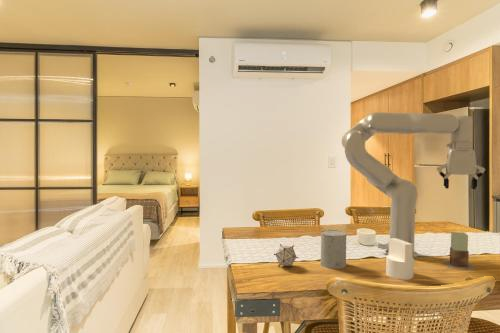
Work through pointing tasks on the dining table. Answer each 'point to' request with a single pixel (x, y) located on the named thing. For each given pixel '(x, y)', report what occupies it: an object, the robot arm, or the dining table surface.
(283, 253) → the grey spiked polyhedron
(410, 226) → the robot arm
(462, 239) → the green block
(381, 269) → the dining table surface
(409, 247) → the base with upright slab
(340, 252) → the grey cylinder
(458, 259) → the walnut block
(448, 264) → the build pad
